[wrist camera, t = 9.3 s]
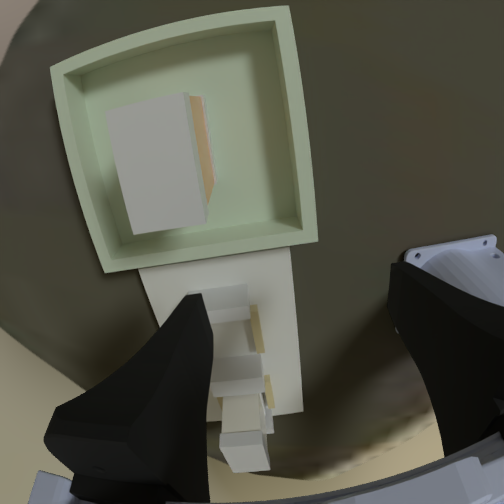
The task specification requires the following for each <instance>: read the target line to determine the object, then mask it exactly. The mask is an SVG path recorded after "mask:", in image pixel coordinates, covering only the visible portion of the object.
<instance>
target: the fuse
mask: <svg viewBox="0 0 504 504" xmlns="http://www.w3.org/2000/svg"><path fill="white" fill-rule="evenodd" d="M265 416H266V407H265V402H264V397H263V393H256V394H247V395H237V396H226V397H223V409H222V434H220V449H221V451H222V453H223V455H224V457H225V458H226V460H227V462H228V464H229V466H230V468H231V469H232V471H233V472H234V473H240V472H254V471H265V470H270V459H269V455H268V450H267V436H266V423H265Z"/></svg>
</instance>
